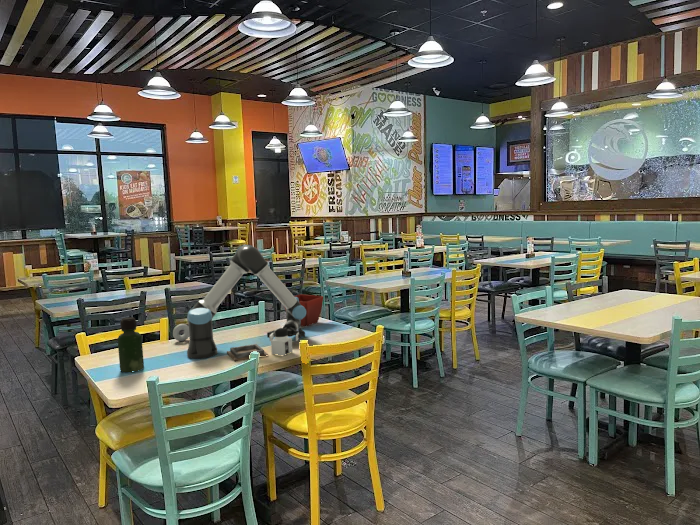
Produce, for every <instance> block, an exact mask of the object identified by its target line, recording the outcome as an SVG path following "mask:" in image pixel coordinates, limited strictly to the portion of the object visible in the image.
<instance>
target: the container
mask: <svg viewBox="0 0 700 525" xmlns="http://www.w3.org/2000/svg"><path fill="white" fill-rule="evenodd" d="M274 330H275V337H274V338H273V339H272V340H271V341H270V349H271V355H272V354H278V355H285V354H287V353H290V352H292V353H293V340H292V337H288V332H287V329H286V328H283V327H278V328H276V329H274ZM290 354H291V353H290ZM278 355H277V356H278ZM285 356H286V355H285Z"/></svg>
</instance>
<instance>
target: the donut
mask: <svg viewBox="0 0 700 525" xmlns="http://www.w3.org/2000/svg"><path fill="white" fill-rule="evenodd" d="M181 331H183V334H182V335H181V334H180V332H181ZM172 336H173V338H174V339H175V340H176V341H179V342H184V341H186V340H187V339H189V338H190V337H189V325H187V324H186V323H180V324H178V325H176V326H175V327H174V328H173V330H172Z"/></svg>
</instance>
